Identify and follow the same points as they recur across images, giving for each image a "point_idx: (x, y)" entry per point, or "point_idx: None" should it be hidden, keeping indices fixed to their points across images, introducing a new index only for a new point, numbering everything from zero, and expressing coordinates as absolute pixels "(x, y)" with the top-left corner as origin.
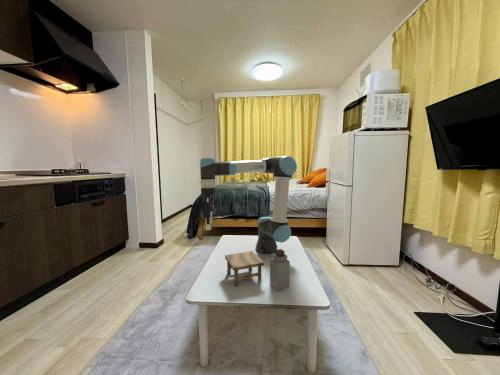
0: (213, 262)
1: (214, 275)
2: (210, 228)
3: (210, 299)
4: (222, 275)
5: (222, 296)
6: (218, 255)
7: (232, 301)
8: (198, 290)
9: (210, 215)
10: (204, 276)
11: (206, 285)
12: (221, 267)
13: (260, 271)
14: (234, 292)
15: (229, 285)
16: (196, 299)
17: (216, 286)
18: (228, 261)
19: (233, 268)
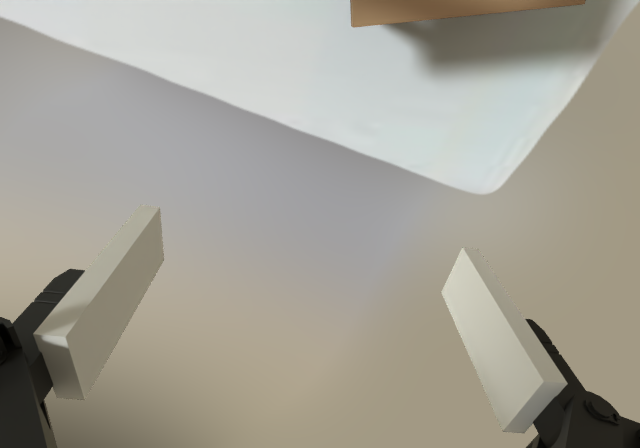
0: (191, 71)
1: (351, 87)
2: (484, 265)
3: (537, 129)
4: (366, 42)
5: (547, 77)
6: (79, 19)
7: (609, 38)
8: (450, 168)
9: (110, 302)
10: (345, 136)
11: (428, 135)
12: (268, 31)
13: None
14: (552, 11)
15: (480, 23)
16: (506, 178)
17: (457, 92)
18: (449, 17)
19: (571, 4)
